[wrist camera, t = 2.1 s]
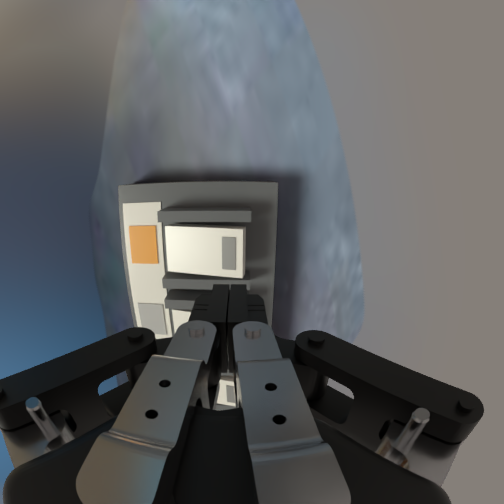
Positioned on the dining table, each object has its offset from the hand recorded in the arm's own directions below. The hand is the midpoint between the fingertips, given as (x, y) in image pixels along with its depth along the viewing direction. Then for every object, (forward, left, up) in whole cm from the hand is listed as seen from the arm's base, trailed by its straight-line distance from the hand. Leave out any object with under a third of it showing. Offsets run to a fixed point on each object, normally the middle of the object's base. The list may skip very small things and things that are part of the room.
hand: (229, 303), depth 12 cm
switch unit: (+7, -3, -13) cm, 15 cm away
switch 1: (0, -2, -8) cm, 9 cm away
